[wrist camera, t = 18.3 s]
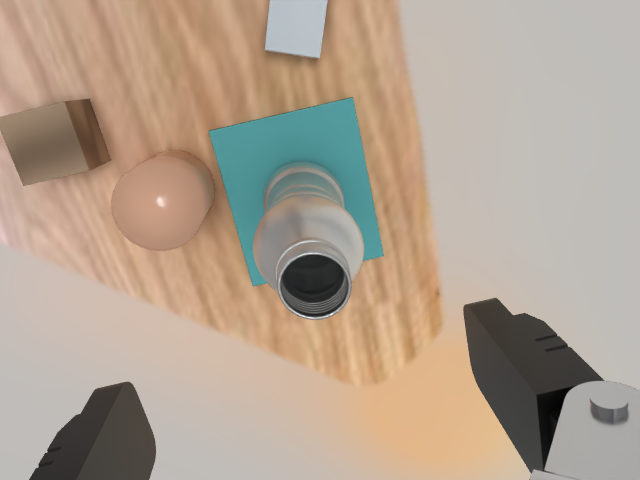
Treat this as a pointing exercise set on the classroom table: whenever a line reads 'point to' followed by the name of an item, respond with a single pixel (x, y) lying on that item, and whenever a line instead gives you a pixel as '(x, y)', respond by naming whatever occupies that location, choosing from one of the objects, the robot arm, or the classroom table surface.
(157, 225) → the beige domed cylinder
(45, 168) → the walnut block
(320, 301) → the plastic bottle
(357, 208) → the teal mat
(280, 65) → the classroom table surface
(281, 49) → the slate grey box
